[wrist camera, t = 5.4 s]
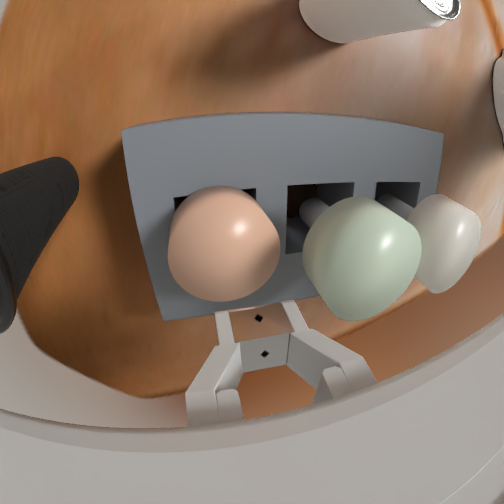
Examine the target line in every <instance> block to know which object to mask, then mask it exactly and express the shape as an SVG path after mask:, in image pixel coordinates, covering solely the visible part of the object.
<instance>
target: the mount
mask: <svg viewBox="0 0 504 504" xmlns="http://www.w3.org/2000/svg"><path fill="white" fill-rule="evenodd" d="M121 133H122V141H123V149H124V156H125V163H126V170H127V176H128V182H129V188H130V193H131V198H132V204H133V209H134V213H135V218H136V223H137V227H138V232H139V236H140V240H141V245H142V249H143V253H144V257H145V260H146V264H147V268H148V272H149V275H150V279H151V282H152V286H153V289H154V293H155V296H156V299H157V303H158V306H159V309H160V312H161V315H162V318H163V321H169V320H177V319H185V318H192V317H199V316H206V315H213V314H214V312H217V311H226V310H232V309H240V308H248V307H255V306H261V305H266V304H272V303H278V302H283V301H288V300H299V299H304V298H309V297H314V296H319V295H320V294H319V293H318V291H317V290H316V288H315V287H314V285H313V283H312V282H311V280H310V279H309V277H308V276H307V274H306V272H305V270H304V267H303V262H302V251H303V246H304V242H305V239H306V236H307V234H308V232H309V230H310V227H309V226H308V225H307V224H306V223H305V222H304V221H303V220H302V219H301V217H300V216H299V217H289V218H287V185H302V184H317V188H316V198H318V199H320V200H321V201H323V202H324V203H325V204H326V205H328V206H329V207H330V206H332V205H333V204H335V203H337V202H338V201H341V200H343V199H346V198H350V197H356V196H363V197H368V198H371V199H373V200H374V198H375V201H377V200H378V199H379V197H380V196H381V195H383V194H385V193H388V194H390V195H392V196H394V197H396V198H397V199H399V200H401V201H403V202H404V203H406V204H408V205H409V206H411V207H413V208H415V207H416V206H417V205H418V204H419V203H420V202H421V201H422V200H423V199H425V198H426V197H428V196H430V195H433V194H436V189H437V184H438V178H439V172H440V165H441V158H442V150H443V140H444V134H443V133H439V132H435V131H432V130H428V129H424V128H420V127H416V126H412V125H408V124H403V123H398V122H392V121H386V120H380V119H373V118H365V117H357V116H348V115H337V114H324V113H306V112H242V113H224V114H211V115H200V116H191V117H182V118H175V119H168V120H161V121H155V122H149V123H143V124H138V125H135V126H132V127H129V128H126V129H123V130H121ZM376 183H377V188H376ZM220 185H222V186H231V187H235V188H238V189H241V190H242V191H244V192H246V193H248V194H249V195H250V196H252V197H253V198H254V199H255V200H256V201H257V203H258V204H259V205H260V207H261V208H262V209H263V211H264V212H265V214H266V215H267V216H268V218H269V219H270V221H271V222H272V224H273V225H274V227H275V229H276V230H277V233H278V236H279V240H280V249H281V250H280V257H279V261H278V264H277V267H276V269H275V271H274V273H273V274H272V276H271V277H270V278H269V280H268V281H267V282H266V283H265V284H264V285H263V286H261V287H260V288H259V289H258V290H256V291H255V292H253V293H251V294H249V295H247V296H245V297H243V298H240V299H237V300H232V301H225V302H215V301H208V300H203V299H200V298H197V297H195V296H193V295H191V294H189V293H188V292H186V291H185V290H184V289H183V288H182V287H180V285H179V284H178V283H177V282H176V280H175V279H174V277H173V276H172V273H171V271H170V268H169V264H168V245H169V235H170V226H171V221H172V218H173V215H174V213H175V211H176V210H177V208H178V207H179V205H180V198H179V197H181V196H189V195H191V194H193V193H194V192H196V191H198V190H200V189H203V188H206V187H211V186H220ZM375 191H376V196H375Z"/></svg>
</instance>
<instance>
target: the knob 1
mask: <svg viewBox="0 0 504 504" xmlns="http://www.w3.org/2000/svg"><path fill="white" fill-rule="evenodd" d="M280 250H281V249H280V240H279V236H278V233H277V230H276V229H275V227H274V225H273V224H272V222H271V221H270V219H269V218H268V216H267V215H266V214H265V212H264V211H263V209H262V208H261V207H260V205H259V204H258V203H257V201H256V200H255V199H254V198H253V197H252V196H250V195H249V194H248V193H246V192H244V191H242V190H241V189H238V188H235V187H231V186H222V185H220V186H211V187H206V188H203V189H200V190H198V191H196V192H194V193H193V194H191V195H190V196H188V197H187V198H186V199H185V200H184V201H183V202H182V203H181V204H180V205H179V207H178V208H177V210H176V211H175V213H174V215H173V218H172V221H171V226H170V235H169V245H168V264H169V268H170V271H171V273H172V276H173V277H174V279H175V280H176V282H177V283H178V284H179V285H180V287H182V288H183V289H184V290H185V291H186V292H188V293H189V294H191V295H193V296H195V297H197V298H200V299H203V300H208V301H215V302H225V301H232V300H237V299H240V298H243V297H245V296H247V295H249V294H251V293H253V292H255V291H256V290H258V289H259V288H260V287H261V286H263V285H264V284H265V283H266V282H267V281H268V280H269V278H270V277H271V276H272V274H273V273H274V271H275V269H276V267H277V264H278V261H279V257H280Z"/></svg>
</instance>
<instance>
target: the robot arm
mask: <svg viewBox="0 0 504 504" xmlns="http://www.w3.org/2000/svg"><path fill="white" fill-rule="evenodd" d="M493 93H494V103H495V109H496V114H497V118H498V122H499V125H500V128H501V131H502V134H503V142H504V50H503V53H502V56H501V57H500V58H498V60H497V61H496V63H495V67H494V73H493ZM214 316H215V323H216V330H217V337H218V343H219V345H218V346H214V348H213V350H212V351H211V353H210V355H209V356H208V358H207V359H206V361H205V363H204V364H203V366H202V367H201V369H200V371H199V372H198V374H197V375H196V377H195V379H194V380H193V382H192V383H191V385H190V387H189V388H188V390H187V391H186V393H185V396H186V410H187V421H188V427H177V428H147V429H146V428H135V429H134V428H110V427H96V426H85V425H77V424H69V423H62V422H56V421H50V420H45V419H40V418H35V417H30V416H26V415H21V414H18V413H14V412H10V411H7V410H3V409H0V504H504V314H502V315H500V316H499V317H498V318H496V319H495V320H493V321H492V322H490V323H489V324H488V325H486V326H485V327H483V328H482V329H480V330H479V331H477V332H476V333H474V334H472V335H471V336H469V337H468V338H466V339H465V340H463V341H461V342H459V343H458V344H456V345H454V346H453V347H451V348H449V349H447V350H445V351H444V352H442V353H440V354H438V355H436V356H435V357H432V358H431V359H429V360H427V361H425V362H423V363H421V364H419V365H417V366H415V367H413V368H410V369H408V370H406V371H404V372H402V373H399V374H397V375H395V376H393V377H390V378H388V379H385V380H383V381H381V382H377V381H376V379H375V377H374V375H373V374H372V372H371V370H370V368H369V367H368V365H367V363H366V362H365V360H364V358H363V357H362V356H360V355H358V354H357V353H355V352H353V351H351V350H349V349H348V348H346V347H344V346H342V345H341V344H339V343H337V342H335V341H334V340H332V339H330V338H328V337H327V336H325V335H323V334H321V333H320V332H318V331H316V330H314V329H309V328H308V326H307V324H306V322H305V320H304V318H303V316H302V314H301V312H300V310H299V308H298V306H297V304H296V302H295V301H294V300H288V301H283V302H278V303H272V304H266V305H261V306H255V307H248V308H240V309H232V310H226V311H217V312H214ZM286 364H287V366H288V367H289V368H290V369H292V370H293V371H294V372H295V373H296V374H298V375H299V376H300V377H301V378H303V379H304V380H305V381H306V382H308V383H309V384H310V385H311V386H313V387H314V388H315V389H316V390H317V391H316V394H315V396H314V399H313V402H312V405H310V406H306V407H302V408H298V409H295V410H291V411H286V412H282V413H277V414H273V415H268V416H263V417H258V418H253V419H247V420H244V416H243V412H242V408H241V404H240V400H239V395H238V391H236V389H237V386H238V384H239V381H240V379H241V377H242V375H243V373H244V372H249V371H254V370H259V369H264V368H270V367H275V366H281V365H286Z"/></svg>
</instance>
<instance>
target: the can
mask: <svg viewBox="0 0 504 504" xmlns="http://www.w3.org/2000/svg"><path fill="white" fill-rule="evenodd" d="M299 9H300V12H301V15H302V17H303V19H304V21H305V22H306V24H307V25H308V26H309V27H310V28H311V29H312V30H313V31H314V32H315V33H316V34H318V35H319V36H321V37H322V38H324V39H326V40H329V41H332V42H335V43H351V42H355V41H359V40H363V39H368V38H372V37H377V36H382V35H387V34H392V33H398V32H404V31H411V30H418V29H426V28H433V27H438V26H440V25H442V24H443V23H444V22H445V21H446V20H454V19H456V18H457V17H458V15H459V13H460V0H299Z"/></svg>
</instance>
